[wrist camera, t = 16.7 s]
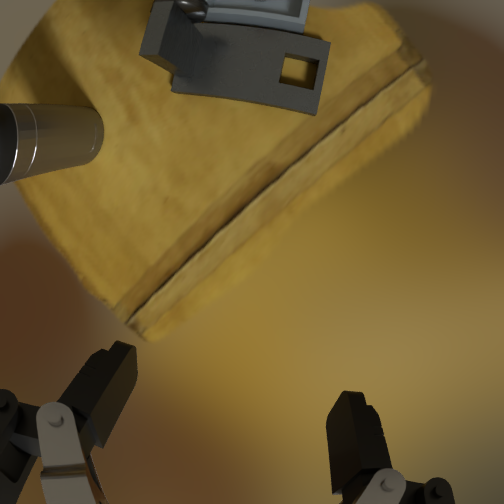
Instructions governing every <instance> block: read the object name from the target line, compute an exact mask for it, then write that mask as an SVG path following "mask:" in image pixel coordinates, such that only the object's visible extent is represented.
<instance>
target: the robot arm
mask: <svg viewBox="0 0 504 504" xmlns="http://www.w3.org/2000/svg"><path fill="white" fill-rule="evenodd" d="M103 137H104V128H103V123H102V120H101V118H100V116H99V114H98V113H97V112H96V111H95V110H93V109H92V108H89V107H82V106H71V105H56V104H29V103H18V104H16V103H13V104H0V185H3V184H6V183H10V182H13V181H16V180H20V179H24V178H27V177H31V176H35V175H39V174H43V173H48V172H52V171H56V170H61V169H65V168H71V167H75V166H80V165H85V164H87V163H89V162H90V161H92V160H93V159H94V158H95V156H96V155H97V154H98V152H99V150H100V148H101V145H102V142H103ZM137 375H138V370H137V354H136V347H135V346H133V345H130V344H126V343H123V342H121V341H116V342H115V343H114V344H113V345H112V347H111V348H110V349H109V351H107V350H105V349H101V350H99V351H97V352H96V353H94V354H92V355H91V356H90V358H89V359H88V360H87V362H86V363H85V365H84V366H83V367H82V368H81V370H80V371H79V373H78V374H77V375H76V376H75V378H74V379H73V381H72V382H71V383H70V385H69V386H68V387H67V389H66V390H65V392H64V393H63V394H62V396H61V397H60V399H59V400H58V401H57V402H49V403H46V404H44V405H43V406H41V407H38V406H33V405H29V404H25V403H21V402H18V400H17V398H16V396H15V395H14V394H13V393H12V392H11V391H9V390H6V389H0V504H16V502H17V500H18V498H19V495H20V493H21V491H22V489H23V486H24V484H25V482H26V480H27V478H28V476H29V474H30V471H31V469H32V467H33V465H34V463H35V461H36V459H37V457H38V456H39V457H42V462H43V471H41V474H40V477H41V483H42V488H43V492H44V495H45V499H46V503H47V504H109V503H108V501H107V499H106V497H105V495H104V492H103V490H102V487H101V484H100V481H99V479H98V475H97V472H96V469H95V466H94V463H93V460H92V456H91V453H90V452H91V450H92V448H93V446H94V445H96V446H98V447H100V448H104V446H105V444H106V442H107V439H108V438H109V436H110V434H111V432H112V429H113V428H114V426H115V424H116V421H117V420H118V418H119V416H120V414H121V412H122V410H123V408H124V406H125V404H126V402H127V400H128V398H129V396H130V394H131V393H132V391H133V389H134V386H135V384H136V381H137ZM381 426H382V425H381V421H380V418H379V415H378V413H377V412H376V411H375V409H374V408H373V406H372V405H366V400H365V397H364V394H363V393H362V392H353V391H343V392H342V393H341V395H340V396H339V398H338V400H337V401H336V403H335V405H334V406H333V408H332V409H331V411H330V413H329V414H328V417H327V421H326V432H327V441H328V451H329V462H330V473H331V485H332V494H333V495H338V494H342V497H343V500H342V501H341V502H340V503H339V504H455V501H454V496H453V492H452V488H451V486H450V484H449V483H448V482H447V481H446V480H445V479H443V478H439V477H437V478H432V479H430V480H429V481H428V482H426V483H425V484H423V483H416V482H411V481H407V480H405V478H404V477H403V475H402V474H401V473H400V472H398V471H397V470H394V469H393V468H392V465H391V461H390V456H389V452H388V448H387V444H386V440H385V437H384V436H383V435H384V433H383V429H382V428H381Z"/></svg>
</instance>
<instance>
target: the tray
mask: <svg viewBox="0 0 504 504" xmlns="http://www.w3.org/2000/svg"><path fill="white" fill-rule="evenodd" d="M205 1H206V2H207V3H208V4H209V9H208V12H207V16H206V19H205V20H204V22H212V23H227V24H238V25H248V26H256V27H263V28H270V29H276V30H282V31H287V32H292V33H297V34H302V35H303V31H304V26H305V22H306V17H307V12H308V7H309V3H310V0H268V1H265V2H256V1H254V0H205Z"/></svg>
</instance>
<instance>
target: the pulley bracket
mask: <svg viewBox="0 0 504 504" xmlns="http://www.w3.org/2000/svg"><path fill="white" fill-rule="evenodd" d="M208 9H209V4H208V3H207V2H206V1H205V0H154V2H153V5H152V8H151V11H150V12H151V14H150V18H149V21H148V24H147V27H146V31H145V34H144V37H143V41H142V44H141V48H140V52H139V55H140V56H142V57H143V58H145V59H147V60H149V61H151V62H153V63H154V64H156V65H158V66H160V67H162V68H163V69H165V70H167V71H169V72H170V73H172V74H174V79H173V83H172V88H171V91H172V92H174V93H177V94H189V95H199V96H208V97H216V98H223V99H231V100H237V101H244V102H250V103H255V104H261V105H266V106H271V107H276V108H281V109H286V110H290V111H295V112H299V113H304V114H308V115H312V116H315V115H316V114H317V109H318V105H319V100H320V95H321V90H322V85H323V80H324V75H325V70H326V65H327V60H328V55H329V50H330V44H331V42H327V41H323V40H319V39H315V38H311V37H307V36H302V35H297V34H292V33H287V32H282V31H276V30H269V29H263V28H255V27H247V26H238V25H227V24H212V23H200V22H202V21H204V20H205V19H206V16H207V12H208ZM285 57H288V58H293V59H297V60H302V61H306V62H311V63H315V64H318V66H317V71H316V76H315V81H314V86H313V90H310V89H305V88H301V87H297V86H292V85H287V84H283V83H279V82H280V77H281V73H282V68H283V64H284V59H285Z"/></svg>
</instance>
